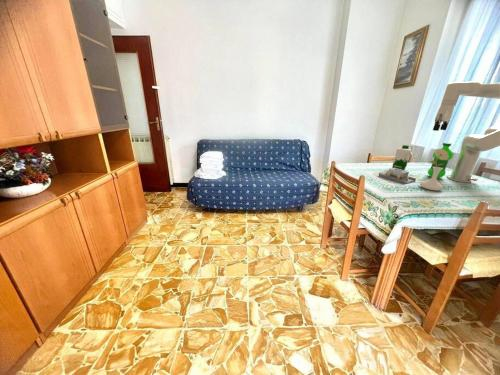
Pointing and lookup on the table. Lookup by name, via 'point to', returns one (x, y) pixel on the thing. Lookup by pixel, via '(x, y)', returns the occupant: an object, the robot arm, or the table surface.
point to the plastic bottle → (441, 161)
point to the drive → (398, 173)
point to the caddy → (407, 180)
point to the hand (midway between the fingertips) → (439, 130)
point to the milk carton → (401, 157)
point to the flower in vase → (435, 172)
